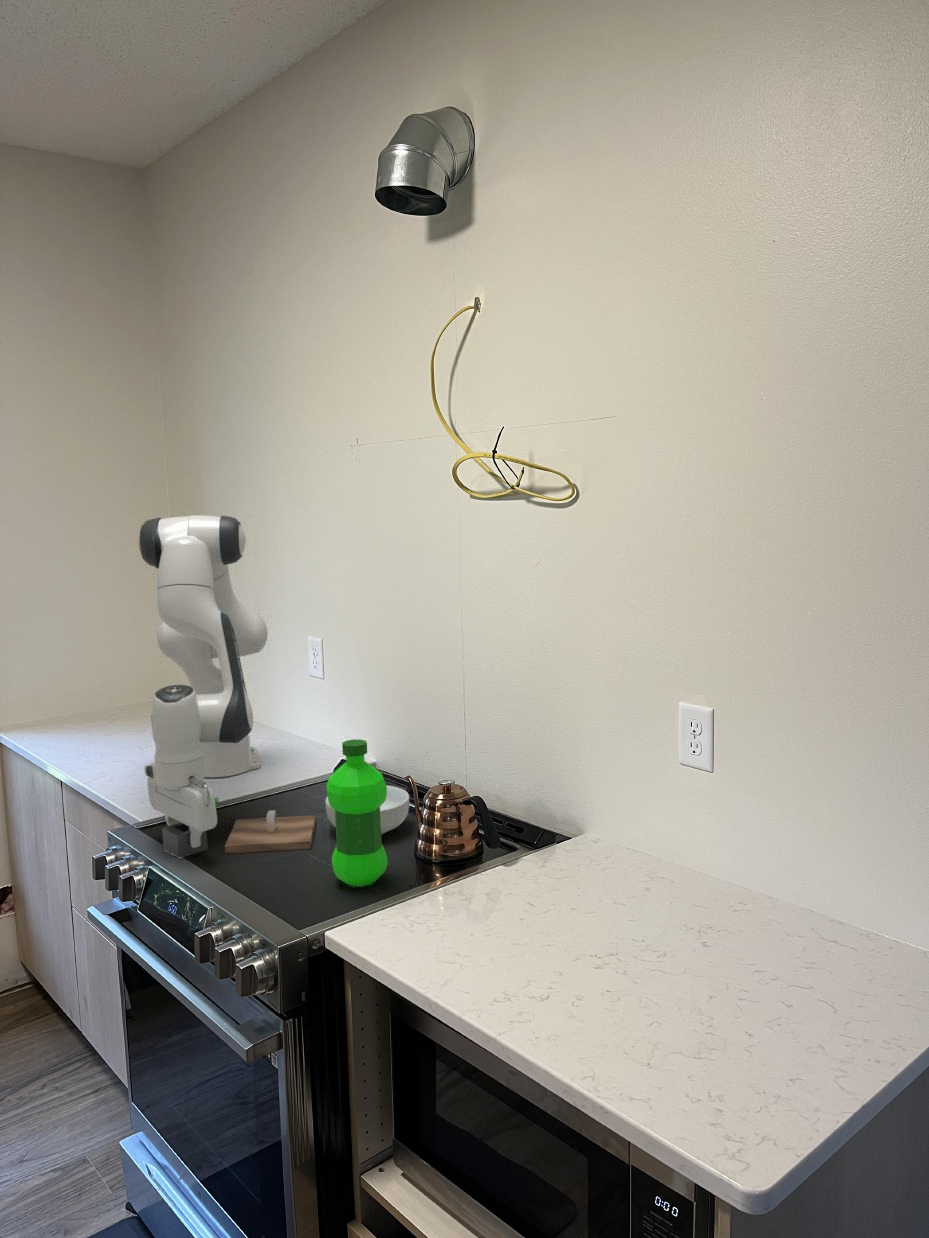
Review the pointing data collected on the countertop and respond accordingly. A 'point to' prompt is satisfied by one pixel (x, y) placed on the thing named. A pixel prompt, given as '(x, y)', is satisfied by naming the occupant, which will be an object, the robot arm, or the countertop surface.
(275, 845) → the shaft base
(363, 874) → the plastic bottle
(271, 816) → the shaft
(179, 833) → the gray open-top tub
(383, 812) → the cereal bowl
